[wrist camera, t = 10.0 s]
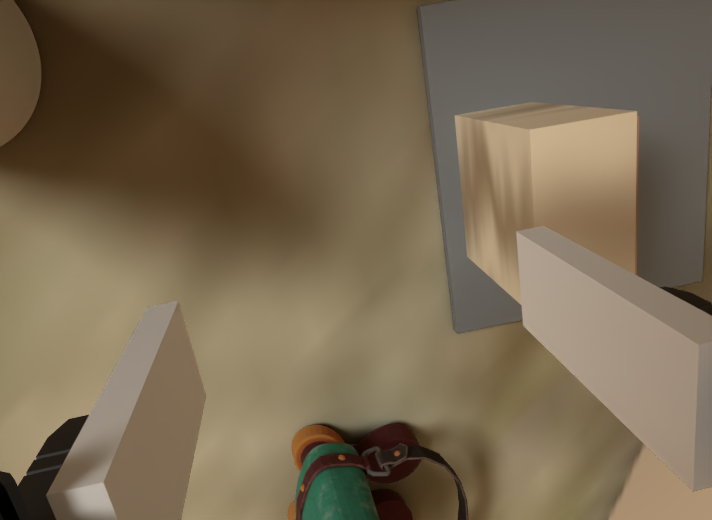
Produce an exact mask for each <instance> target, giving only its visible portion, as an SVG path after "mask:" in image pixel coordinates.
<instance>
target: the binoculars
mask: <svg viewBox="0 0 712 520" xmlns="http://www.w3.org/2000/svg"><path fill="white" fill-rule="evenodd" d="M292 452H293V458H294V463H295V465H296V467H297V468H298V470H299V471H300V475H299V480H298V484H297V490H296V500H295V501H294V502H293V503H292V504H291V505H290V507H289V510H288V520H413V517H412V513H411V511H410V509H409V508H408V506H407V505H406V503H405V502H404V500H403V499H402V497H401V496H400V495H399V494H398V493H397V492H395V491H392V490H388V489H385V490H378V491H375V492H373V493H371V491H370V488H369V485H368V482H367V479H369V480H371V481H373V482H377V483H392V482H396V481H399V480H401V479H403V478H405V477H406V476H408V475H409V474H410V473H412V472H413V471H414V470H415V469H416V468H417V466H418V464H419V463H420V461H421V459H426V460H428V461H431V462H433V463H436V464H438V465H440V466H443V467H445V468H446V469H447V471H448V472H449V473H450V474H451V475H452V476H453V477H454V479H455V482H456V485H457V488H458V499H459V510H458V520H468V505H467V499H466V496H465V493H464V490H463V487H462V483H461V481H460V480H459V478H458V477H457V475H456V473H455V472H454V470H453V469H452V468H451V467H450V466H449V464H448V463H447V462H446V461H445V460H444V459H443V458H442V457H441V455H440V454H439V453H436V452H434V451H432V450H429V449H427V448H424V447H422V446H420V445H419V443H418V442H417V440H416V438H415V436H414V434H413V433H412V431H411V429H409V428H408V427H407V426H404V425H401V424H390V425H386V426H383V427H380V428H378V429H376V430H374V431H372V432H371V433H369V434H368V435H366V436H365V437H364V438H363V439H362V440H360V442H359V443H358V444H352V445H349V444H346V443H344V440H343V439H342V438H341V436H340V435H338V434H337V433H336V432H335V431H334V430H332V429H330V428H328V427H326V426H322V425H310V426H307V427H304V428H303V429H301V430H300V431H299V432H298V433H297V434H296V435H295V437H294V438H293V441H292Z"/></svg>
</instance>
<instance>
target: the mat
mask: <svg viewBox="0 0 712 520" xmlns="http://www.w3.org/2000/svg"><path fill="white" fill-rule="evenodd" d="M417 14H418V23H419V32H420V41H421V49H422V58H423V67H424V75H425V84H426V93H427V102H428V110H429V119H430V128H431V136H432V145H433V154H434V163H435V171H436V180H437V189H438V197H439V206H440V215H441V224H442V232H443V241H444V250H445V258H446V267H447V276H448V285H449V293H450V302H451V311H452V319H453V328H454V330H455V332H456V333H457V334H459V333H464V332H468V331H473V330H478V329H482V328H487V327H491V326H496V325H501V324H505V323H510V322H515V321H519V320H523V318H522V305H520V304H519V303H518V302H517V301H516V300H515V299H514V298H513V297H512V296H510V295H509V294H508V293H507V292H506V291H505V290H504V289H503V288H501V287H500V286H499V285H498V284H497V283H496V282H495V281H494V280H493V279H491V278H490V277H489V276H488V275H487V274H486V273H485V272H484V271H483V270H481V269H480V268H479V267H478V266H477V265H476V264H475V263H474V262H473V261H471V260H470V259H469V258H468V257H467V249H466V238H465V227H464V216H463V204H462V193H461V182H460V171H459V160H458V148H457V137H456V126H455V115H459V114H465V113H471V112H477V111H483V110H489V109H495V108H501V107H507V106H512V105H518V104H524V103H530V102H537V103H548V104H560V105H572V106H584V107H595V108H607V109H619V110H631V111H637V116H639V154H638V220H637V276H639V277H640V278H642V279H644V280H646V281H648V282H650V283H652V284H653V285H655V286H657V287H659V288H660V287H664V286H666V287H670V288H672V287H677V286H681V285H686V284H691V283H695V282H700V281H703V263H704V241H705V218H706V196H707V174H708V151H709V129H710V107H711V84H712V0H454V1H448V2H441V3H435V4H429V5H423V6H419V7H417Z"/></svg>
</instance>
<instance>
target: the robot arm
mask: <svg viewBox="0 0 712 520" xmlns="http://www.w3.org/2000/svg"><path fill="white" fill-rule="evenodd" d="M516 237H517V250H518V264H519V277H520V291H521V304H522V318H523V326H524V327H525V328H526V329H527V330H528V331H529V332H530V333H531V334H532V335H533V336H534V337H535V338H536V339H537V340H538V341H539V342H540V343H541V344H542V345H543V346H544V347H545V348H546V349H547V350H548V351H549V352H550V353H552V354H553V355H554V356H555V357H556V358H557V359H558V360H559V361H560V362H561V363H562V364H563V365H564V366H565V367H566V368H567V369H568V370H569V371H570V372H571V373H572V374H573V375H574V376H575V377H576V378H577V379H578V380H579V381H580V382H581V383H582V384H583V385H584V386H585V387H586V388H587V389H588V390H589V391H590V392H591V393H592V394H593V395H595V396H596V397H597V398H598V399H599V400H600V401H601V402H602V403H603V404H604V405H605V406H606V407H607V408H608V409H609V410H610V411H611V412H612V413H613V414H614V415H615V416H616V417H617V418H618V419H619V420H620V421H621V422H622V423H623V424H624V425H625V426H626V427H627V428H628V429H629V430H630V431H631V432H632V433H633V434H634V435H635V436H636V437H638V438H639V439H640V440H641V441H642V442H643V443H644V444H645V445H646V446H647V447H648V448H649V449H650V450H651V451H652V452H653V453H654V454H655V455H656V456H657V457H658V458H659V459H660V460H661V461H662V462H663V463H664V464H665V465H666V466H667V467H668V468H669V469H671V471H672V472H673V473H674V474H675V475H676V476H677V477H679V479H681V480H682V481H683V482H684V483H685V484H686V485H687V486H688V487H689V488H690V489H691V490H692V491H693V492H694V491H698V490H702V489H705V488H709V487H712V304H711V303H710V302H708V301H706V300H704V299H702V298H700V297H698V296H696V295H694V294H692V293H689V292H685V291H681V290H678V289H674V288H670V287H666V286H664V287H660V288H659V287H657V286H655V285H653V284H652V283H650V282H648V281H646V280H644V279H642V278H640V277H639V276H637V275H635V274H633V273H631V272H629V271H627V270H625V269H624V268H622V267H620V266H618V265H616V264H614V263H612V262H611V261H609V260H607V259H605V258H603V257H601V256H599V255H598V254H596V253H594V252H592V251H590V250H588V249H586V248H585V247H583V246H581V245H579V244H577V243H575V242H573V241H571V240H570V239H568V238H566V237H564V236H562V235H560V234H558V233H557V232H555V231H553V230H551V229H549V228H547V227H545V226H540V227H535V228H530V229H525V230H521V231H516ZM205 399H206V394H205V390H204V387H203V383H202V380H201V377H200V373H199V370H198V366H197V363H196V359H195V356H194V353H193V349H192V346H191V342H190V339H189V336H188V332H187V329H186V325H185V322H184V319H183V315H182V312H181V308H180V305H179V301H175V302H171V303H166V304H161V305H156V306H151V307H147V309H146V310H145V312H144V314H143V316H142V318H141V320H140V322H139V323H138V325H137V327H136V329H135V331H134V333H133V335H132V336H131V338H130V340H129V342H128V344H127V346H126V348H125V349H124V351H123V353H122V355H121V357H120V359H119V361H118V362H117V364H116V366H115V368H114V370H113V372H112V374H111V375H110V377H109V379H108V381H107V383H106V385H105V387H104V389H103V390H102V392H101V394H100V396H99V398H98V400H97V402H96V403H95V405H94V407H93V409H92V411H91V413H90V415H86V416H81V417H77V418H72V419H68V420H67V421H66V422H65V423H64V424H63V425H62V426H61V427H59V428H58V429H57V430H56V431H55V432H54V433H53V434H52V435H50V436H49V437H48V438H47V440H46V442H45V443H44V445H43V446H42V448H41V450H40V451H39V453H38V455H37V456H36V458H37V460H34V461H33V463H32V464H31V466H30V467H29V469H28V471H27V472H26V473H27V476H24V477H23V479H22V480H21V482H20V484H19V485H18V486H17V484H16V482H15V480H14V478H13V477H12V476H11V474H10V473H6V472H1V471H0V520H181V517H182V512H183V508H184V503H185V498H186V493H187V488H188V483H189V478H190V473H191V468H192V463H193V458H194V453H195V448H196V443H197V438H198V433H199V428H200V423H201V419H202V414H203V409H204V404H205Z"/></svg>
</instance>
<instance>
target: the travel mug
mask: <svg viewBox="0 0 712 520" xmlns="http://www.w3.org/2000/svg"><path fill="white" fill-rule="evenodd" d="M40 88H41V61H40V55H39V50H38V47H37V43H36V40H35V37H34V35H33V32H32V30H31V28H30V26H29V24H28V22H27V20H26V18H25V17H24V15H23V13H22V12H21V10H20V9H19V7H18V6H17V5H16V3H15V2H14V1H13V0H0V147H1V146H2V145H4V144H5V143H7V142H9V141H10V140H11V139H12V138H14V137H15V136H16V135H17V134H18V133H19V132H20V131H21V130H22V129H23V127H24V126H25V125H26V123H27V122H28V120H29V119H30V117H31V116H32V113H33V111H34V109H35V107H36V104H37V101H38V98H39V93H40Z"/></svg>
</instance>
